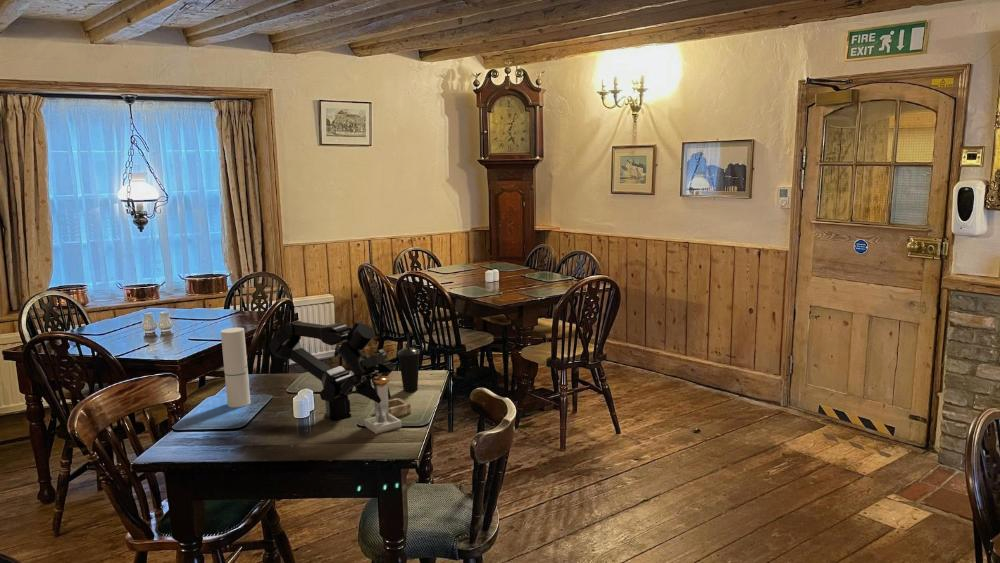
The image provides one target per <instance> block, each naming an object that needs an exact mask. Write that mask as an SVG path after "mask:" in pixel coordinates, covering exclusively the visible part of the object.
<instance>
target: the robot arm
mask: <svg viewBox="0 0 1000 563" xmlns="http://www.w3.org/2000/svg"><path fill="white" fill-rule="evenodd" d="M375 336H376V333H375V330H374V328H373V327H371V326H369V325H368V324H366V323H363V322H362V321H361V320H359V321H356V322H355V323H354V324H353V327H350V326H348V324H347V323H344V322H341V323H340V322H339V323H331V324H319V323H318V324H317V323H312V322H303V321H301V320H296V321H291V322H288V323H286V324H285V326H284V327H283V328H282V330H280V331H279V332H277V333H276V335H274V336H273V337H272V338H270V339H271V340H270V341H269V345H268V347H269V350H270V353H272V354H273V355H274V356H275V357H278V358H281V359H285V360H286V359H287V360H291V361H293V362H294V363H295V364H297V365H298V366H299V367H301V368H302V369H304V370H305V371H306V372H308V373H309V374H310V375H312V376H313V377H315V378H316V379H318V380H319V381H320V382H321V385H322V388H323V389H322V390H321V391H320V392H319V396H320V399H321V400H322V401H324V402H325V413H324V414H323V415H324V416H325V417H327V419H329V420H330V421H332V422H333V421H338V420H341V419H344V418H349V417H352V414H351V400H350V399H349V395H352V393H353V392H354V394H359V395H361V396H364V397H366V398H368V399H370V400H372V401H373V402H374V403H375V402H377V403H380V402H381V400H380V398H379V396H378V395H377V393H376V392H375V390H374V384H373V383H372V378H373V377H377V376H387V377H389V376H390V374H392V372H393V371H394V370H395V369H396V366H395V364H394V363H393V361H387V362H386V359H388V355H387V353H386V351H385V350H384V349H383V348H381V349H378V350H376V351H375V352H374V353H375V354H373V355H370V354H368V353H366V354H364V353H363V350H364V349H365V348H367V346H368V345H369V344H370V342H371V341H372V340H373V339H374V337H375ZM302 337H303V338H304V337H305V338H312V339H317V340H320V341H321V342H322V343H323V344H326V345H327V346H335V345H339V344H340V345H339V346H337V347H334V353H333V354H334V355H333V356H334V357H335V358H336V357H339V356H340V357H341V358H342V360H343V361H344V363H345V364H346V365H347V366H348V367H347V368H346V369H345V368H344V367H343V366H342V365H338V366H336V367H333V368H332V367H331V366H330V365H328V364H327V363H325V362H323V361H322V360H320V359H319V358H317V356H314V355H313V354H312V353H310V352H308V351H307V350H306V349H305V348H303V347H302V346H301V343H300V342H301V341H300V340H301V338H302ZM379 365H380V366H379ZM350 372H352V373H353V375H352V374H351V373H350ZM353 389H355V390H354V391H353ZM390 398H392V395H391V393H390V388H389V387H388V400H390Z"/></svg>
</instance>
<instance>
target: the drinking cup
mask: <svg viewBox="0 0 1000 563" xmlns="http://www.w3.org/2000/svg"><path fill="white" fill-rule="evenodd" d="M406 338H407V341H406V342H407V347H404V348H401V350H398V351H397V355H398V360H399V368H400V374H401V382H402V389H403V391H404V393H412V392H416V391H417V392H418V390H419V388H418V387H419V386H418V385H419V366H420V364H419V363H420V353H421V350H420V349H417V348H415V347H410V333H408V332H407V333H406Z"/></svg>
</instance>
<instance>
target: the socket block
mask: <svg viewBox="0 0 1000 563" xmlns="http://www.w3.org/2000/svg"><path fill="white" fill-rule="evenodd" d="M388 403H389V414H391V415H392V416H394V417H396V416H398V417H401V416H400V415H402V416H404V415H403V414H406V415H408V414H407V413H410V414H412V411H411V410H412V409H411V403H410V402H407V401H405V400H404V399H402V398H399V397H395V398H392V399H388ZM396 418H397V417H396Z"/></svg>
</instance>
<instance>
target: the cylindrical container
mask: <svg viewBox="0 0 1000 563" xmlns="http://www.w3.org/2000/svg"><path fill="white" fill-rule="evenodd" d="M220 337H221V339H220V340H221V347H222V350H221V351H222V358H223V369H224V370H223V371H224V381H225V389H226V402H227V407H228V408H242V407H246V406H249V405H250V404H251V403H252V402H251V394H250V393H251V392H250V381H249V369H248V359H247V358H248V357H247V344H246V335H245V328H244V327H230V328H229V327H228V328H224V329H222V330H220Z"/></svg>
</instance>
